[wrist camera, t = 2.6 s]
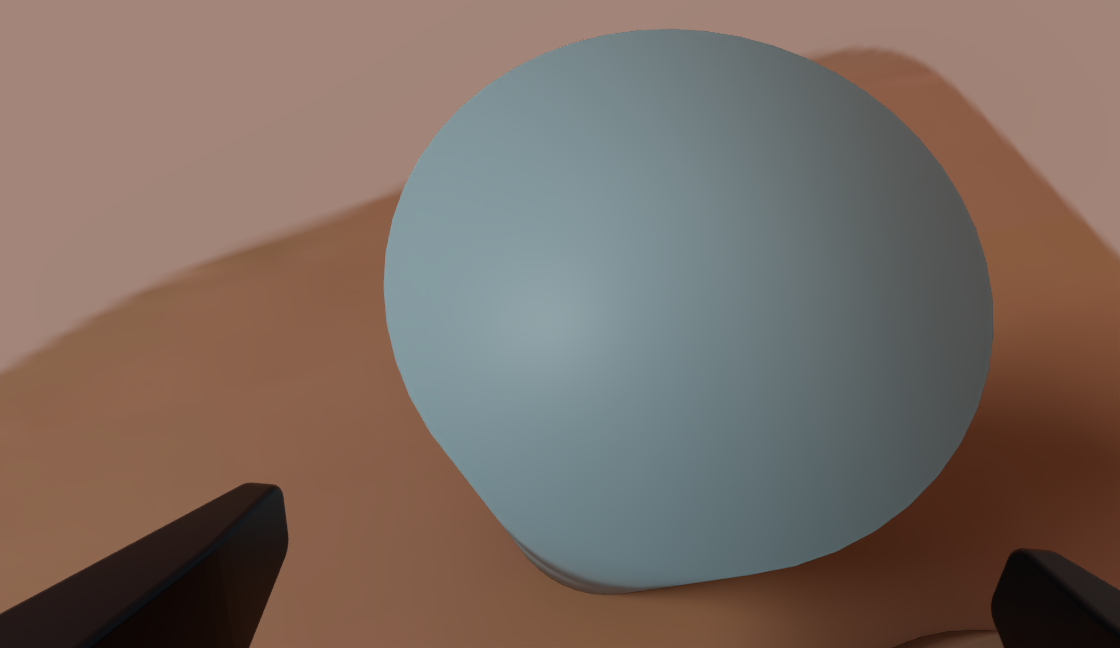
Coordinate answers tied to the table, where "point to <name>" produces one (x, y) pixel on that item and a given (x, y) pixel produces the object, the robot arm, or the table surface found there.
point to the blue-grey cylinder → (686, 308)
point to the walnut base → (957, 640)
